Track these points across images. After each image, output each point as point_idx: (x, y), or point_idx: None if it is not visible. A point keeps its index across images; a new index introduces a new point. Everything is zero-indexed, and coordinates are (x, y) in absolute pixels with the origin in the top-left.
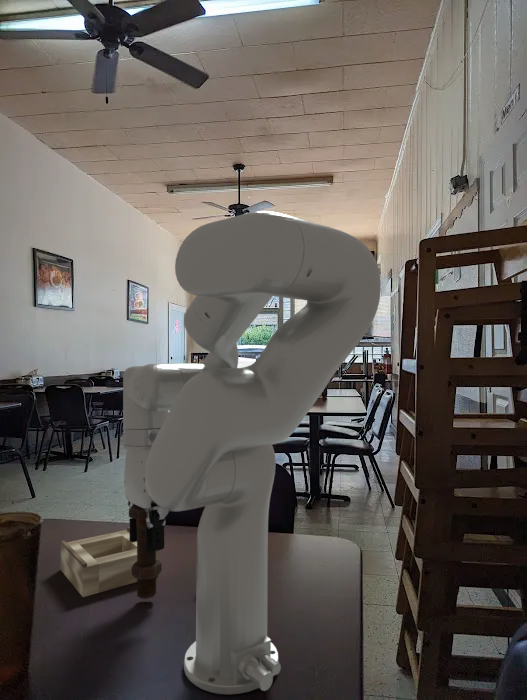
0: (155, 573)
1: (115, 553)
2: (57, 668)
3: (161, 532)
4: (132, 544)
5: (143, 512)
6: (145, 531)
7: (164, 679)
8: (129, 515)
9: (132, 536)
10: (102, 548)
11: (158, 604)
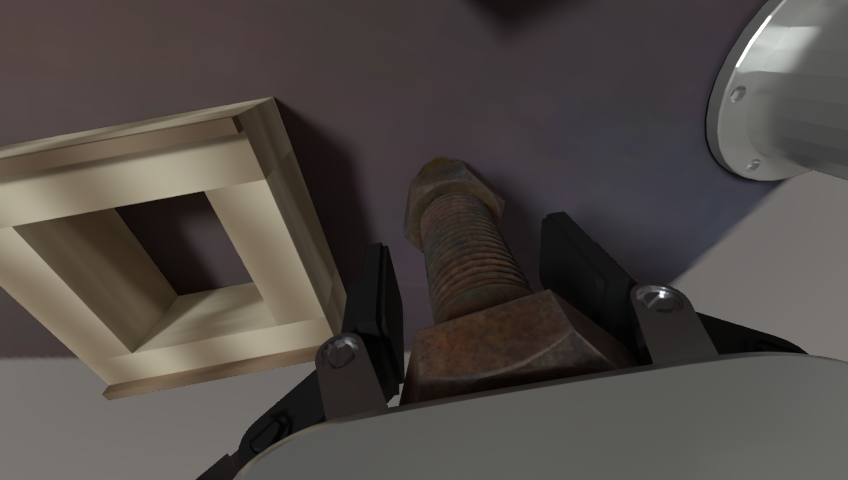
0: (499, 194)
1: (89, 218)
2: None
3: (627, 274)
4: (136, 201)
5: None
6: None
7: (719, 208)
8: None
9: (401, 317)
10: (101, 274)
11: (467, 149)
